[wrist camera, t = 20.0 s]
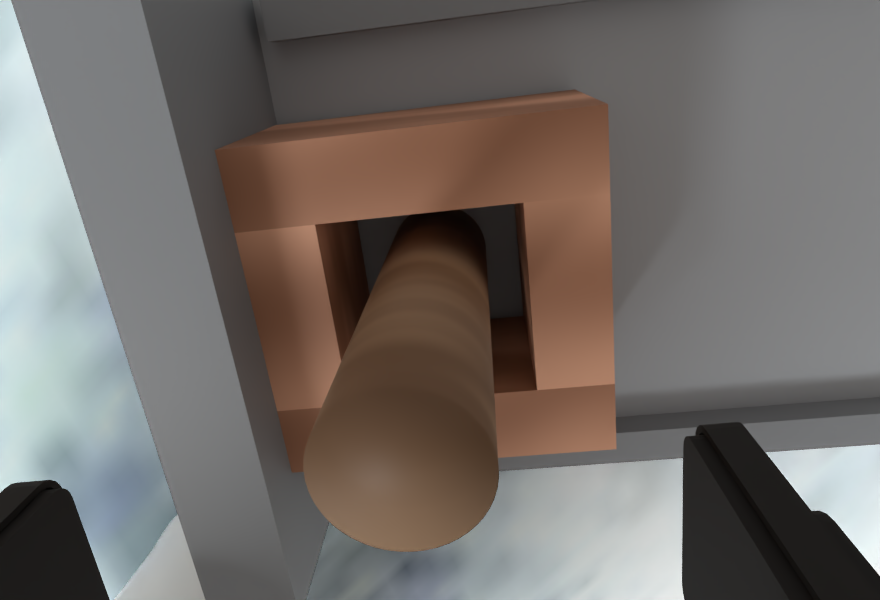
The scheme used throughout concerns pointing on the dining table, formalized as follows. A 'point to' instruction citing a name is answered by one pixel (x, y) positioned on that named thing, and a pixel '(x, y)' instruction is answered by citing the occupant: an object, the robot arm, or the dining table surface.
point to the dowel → (413, 397)
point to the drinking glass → (165, 571)
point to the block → (423, 191)
